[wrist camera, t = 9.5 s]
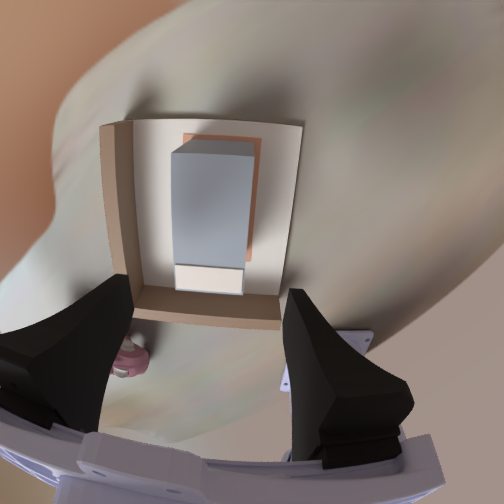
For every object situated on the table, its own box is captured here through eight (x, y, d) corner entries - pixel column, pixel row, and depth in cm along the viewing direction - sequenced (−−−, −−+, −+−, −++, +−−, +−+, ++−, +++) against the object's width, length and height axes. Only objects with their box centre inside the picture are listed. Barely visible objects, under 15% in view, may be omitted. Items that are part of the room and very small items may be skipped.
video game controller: (157, 331, 29) (142, 357, 22) (150, 368, 29) (136, 401, 22) (73, 304, 27) (41, 321, 20) (70, 342, 27) (41, 365, 21)
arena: (276, 301, 25) (279, 330, 22) (136, 289, 24) (123, 316, 21) (301, 126, 18) (311, 132, 15) (122, 120, 17) (99, 126, 14)
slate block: (254, 142, 18) (254, 157, 13) (244, 253, 22) (242, 296, 17) (191, 138, 18) (170, 153, 13) (190, 249, 22) (175, 290, 17)
